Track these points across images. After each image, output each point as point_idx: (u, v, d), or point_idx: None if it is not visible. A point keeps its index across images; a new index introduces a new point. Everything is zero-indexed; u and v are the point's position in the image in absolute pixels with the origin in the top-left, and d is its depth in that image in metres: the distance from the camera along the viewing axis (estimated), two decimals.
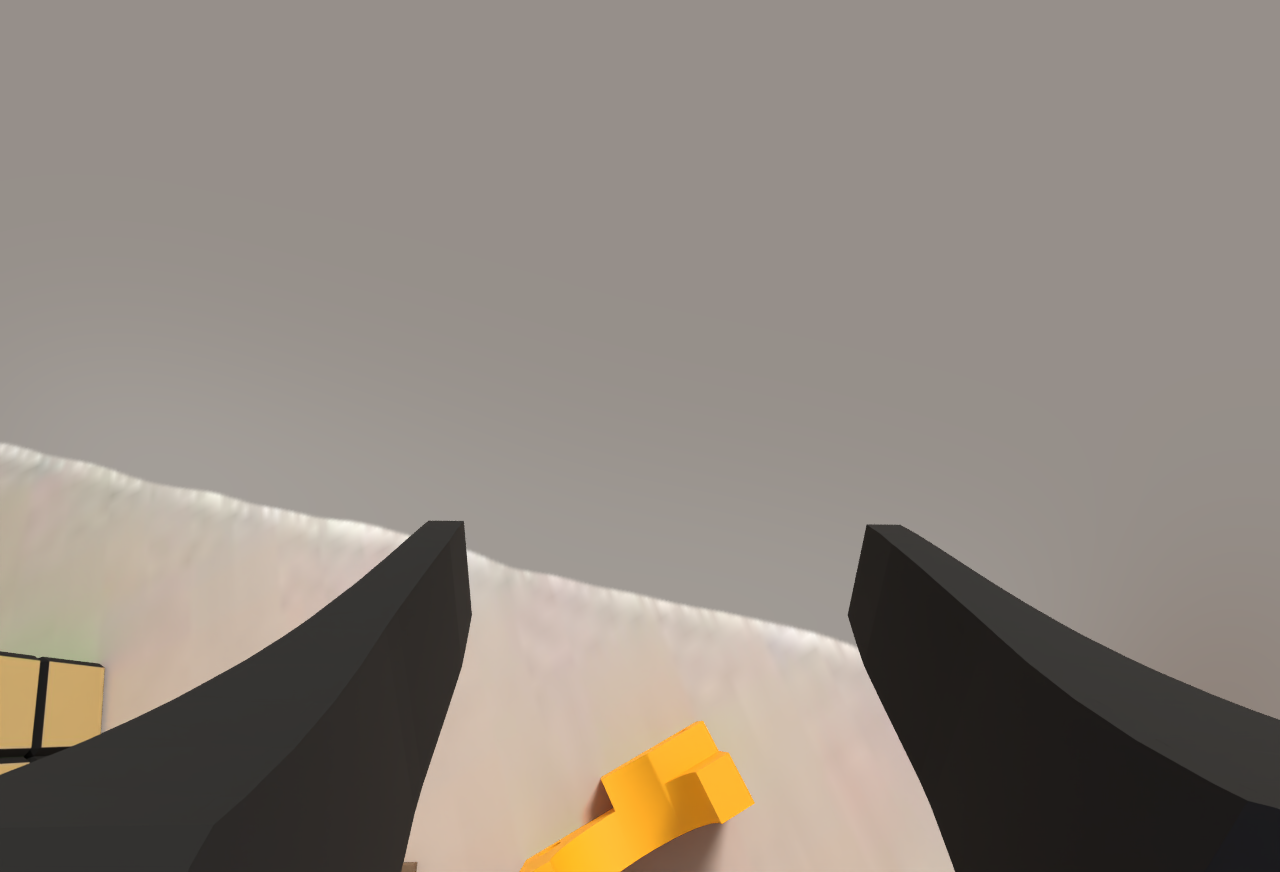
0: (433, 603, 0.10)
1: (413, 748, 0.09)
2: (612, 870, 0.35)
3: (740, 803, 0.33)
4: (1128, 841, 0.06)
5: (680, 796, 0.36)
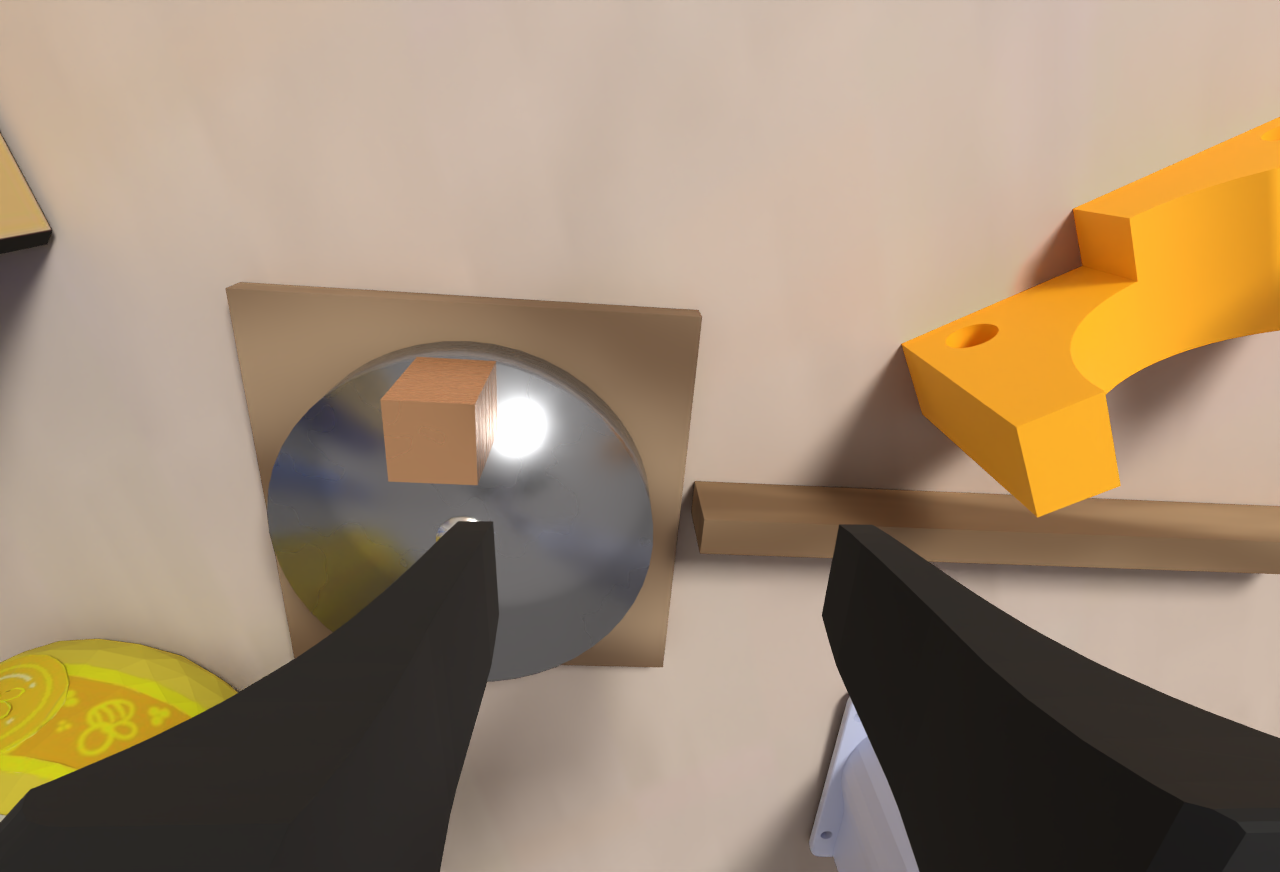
0: (468, 603, 0.10)
1: (450, 748, 0.09)
2: (1108, 382, 0.18)
3: None
4: (1076, 842, 0.06)
5: None
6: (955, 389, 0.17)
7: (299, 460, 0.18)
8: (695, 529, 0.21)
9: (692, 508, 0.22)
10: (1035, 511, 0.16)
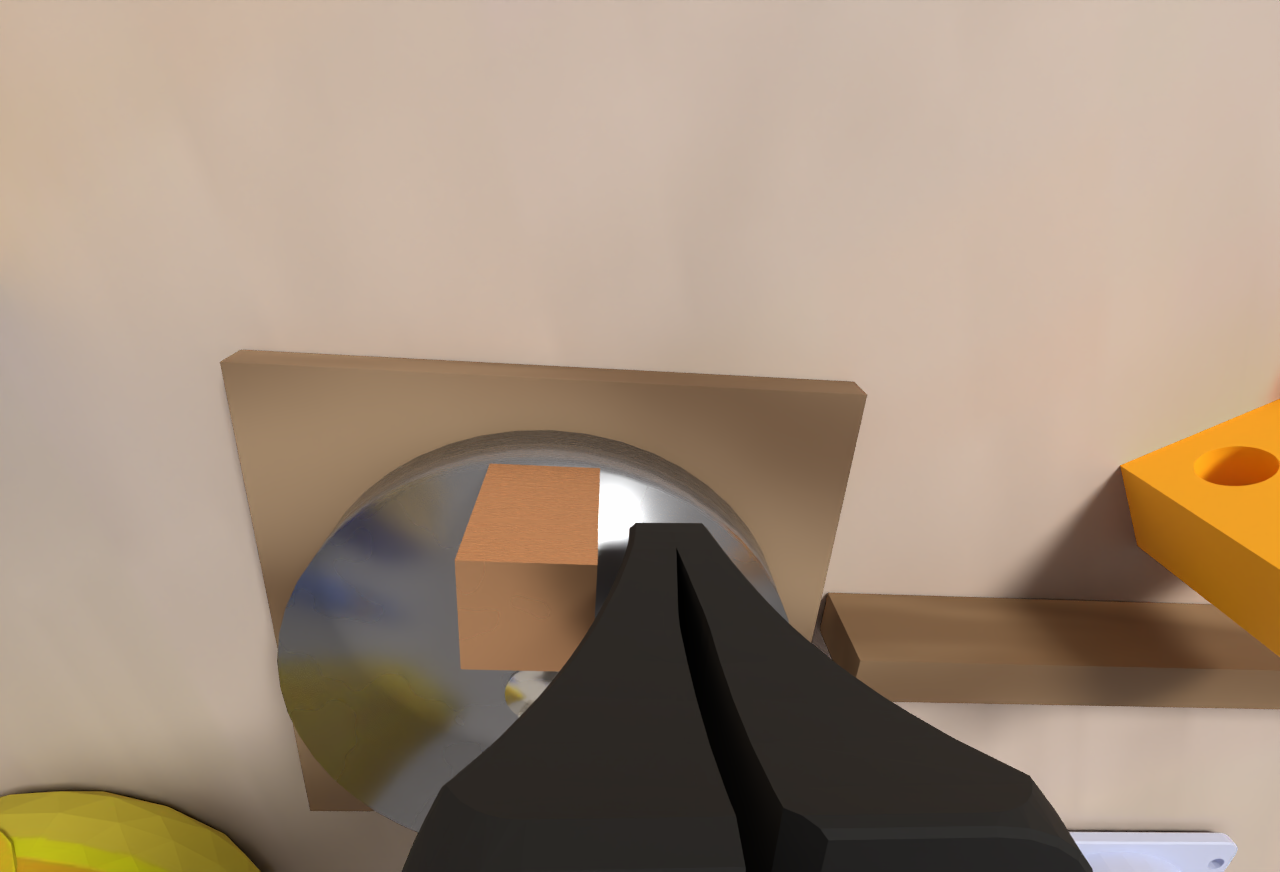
0: None
1: None
2: None
3: None
4: (747, 848, 0.06)
5: None
6: (1246, 556, 0.13)
7: (323, 597, 0.13)
8: (833, 659, 0.16)
9: (823, 626, 0.17)
10: None
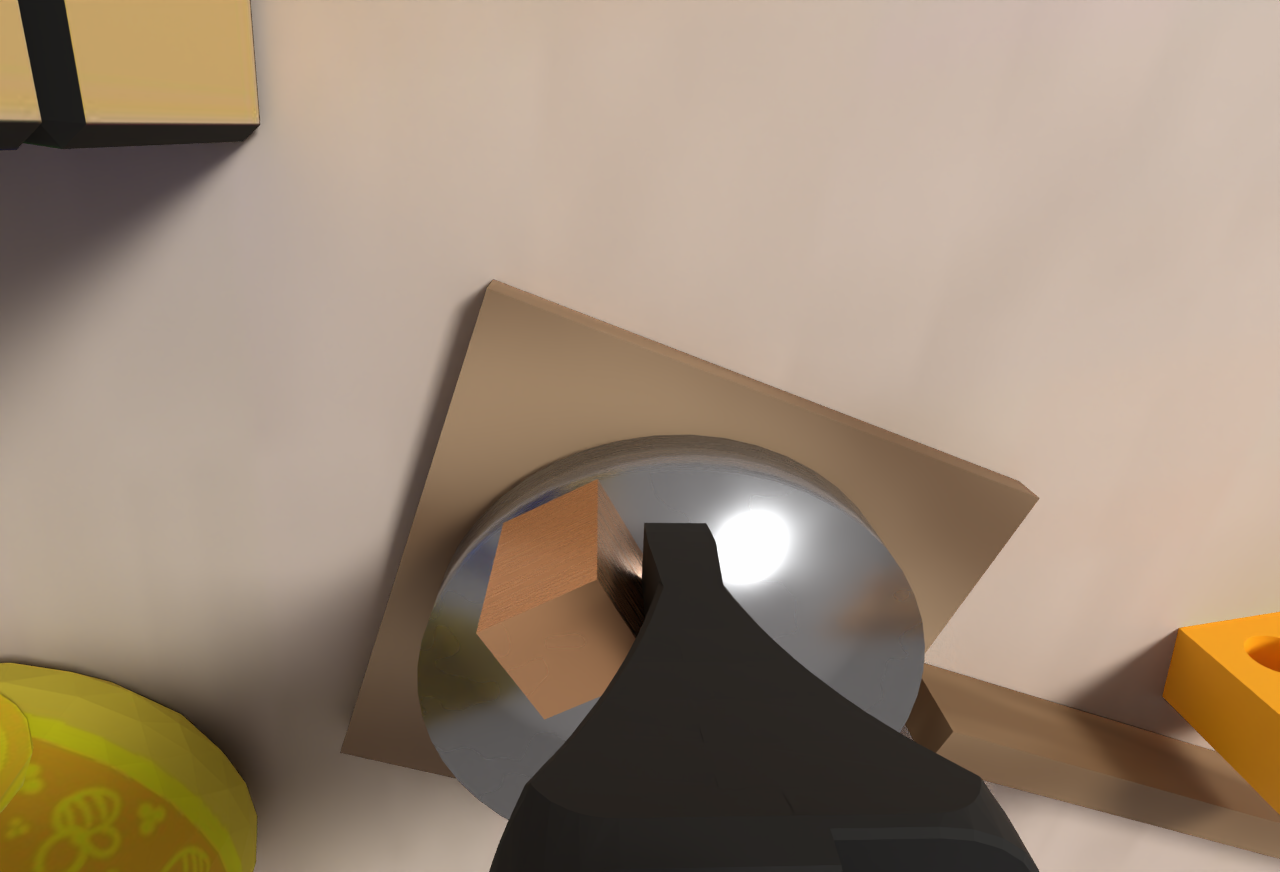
0: None
1: None
2: None
3: None
4: None
5: None
6: None
7: (445, 696, 0.14)
8: (906, 722, 0.17)
9: None
10: None
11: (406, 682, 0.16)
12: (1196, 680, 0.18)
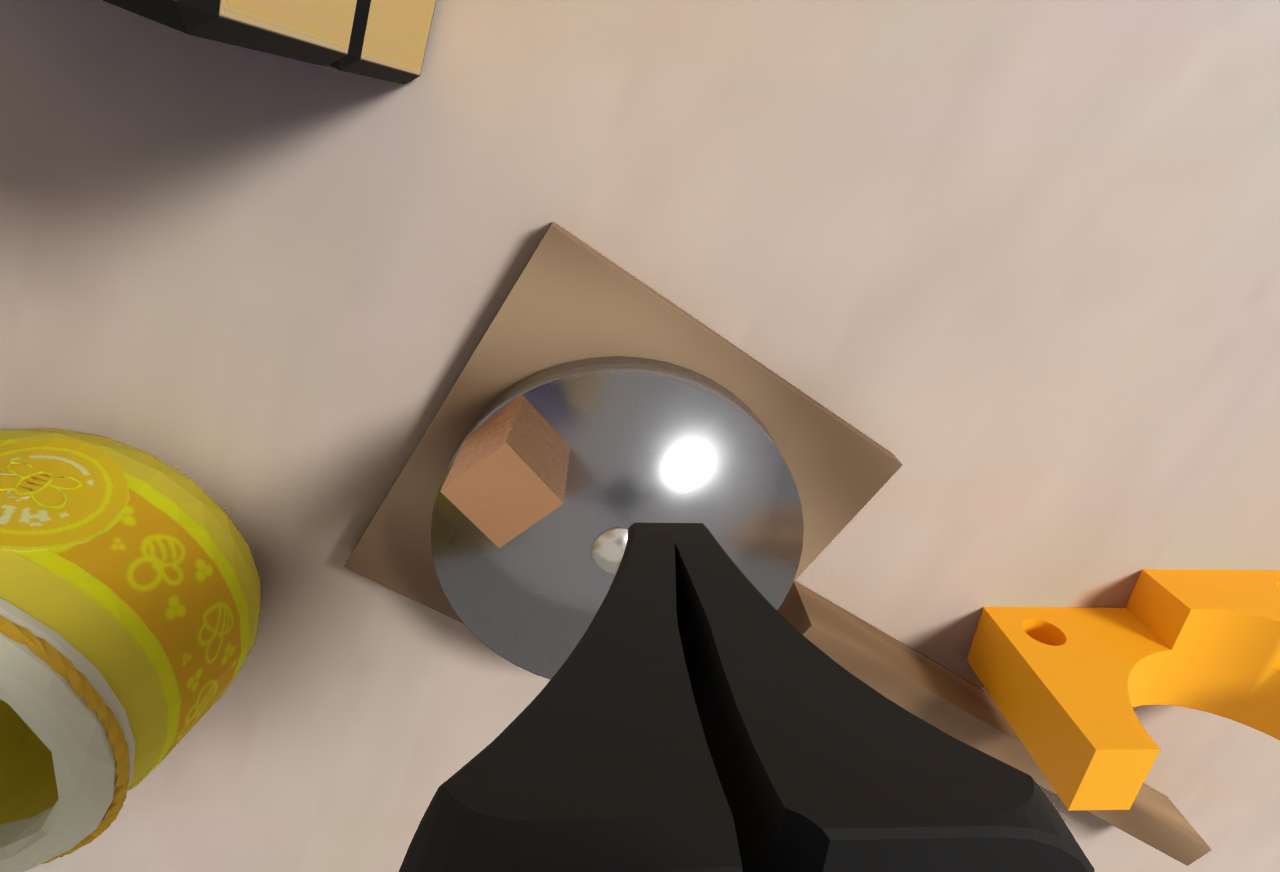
0: None
1: None
2: None
3: None
4: (748, 848, 0.06)
5: None
6: (1034, 680, 0.22)
7: (456, 574, 0.20)
8: None
9: None
10: (1069, 805, 0.20)
11: (412, 516, 0.21)
12: (987, 645, 0.24)
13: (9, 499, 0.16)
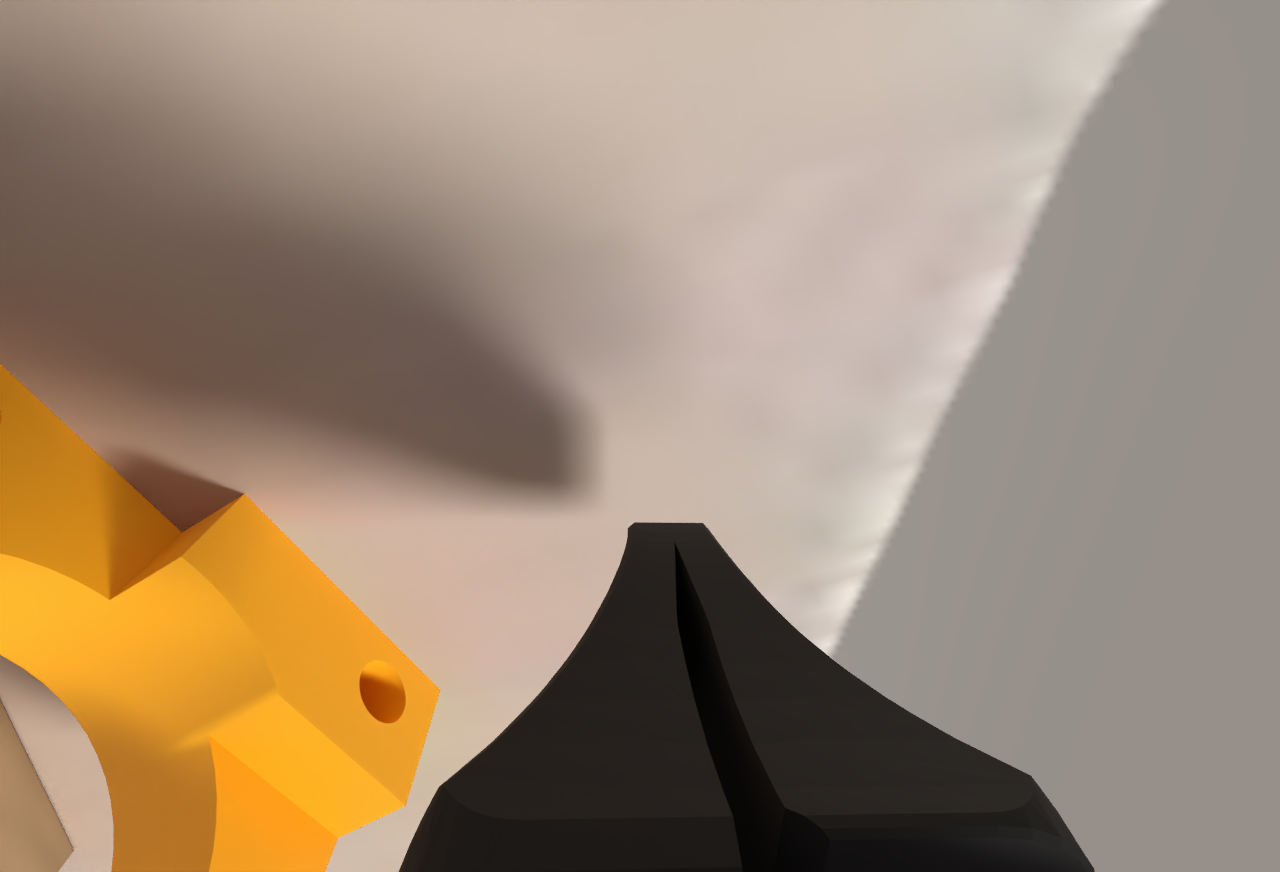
0: None
1: None
2: None
3: None
4: (748, 848, 0.06)
5: (179, 792, 0.12)
6: None
7: None
8: None
9: None
10: None
11: None
12: None
13: None
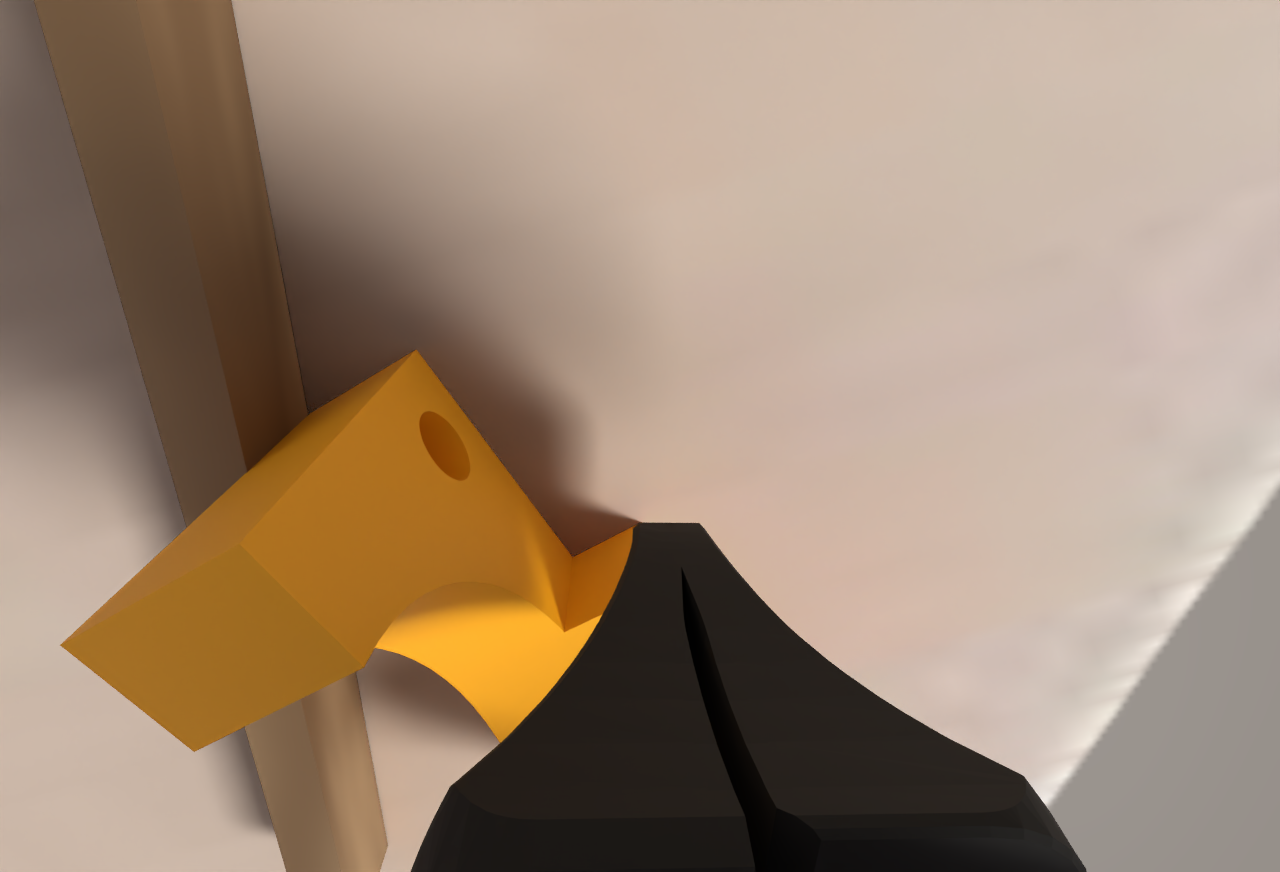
0: None
1: None
2: (414, 649, 0.12)
3: None
4: None
5: None
6: (332, 433, 0.09)
7: None
8: None
9: None
10: (72, 637, 0.07)
11: None
12: (352, 395, 0.12)
13: None
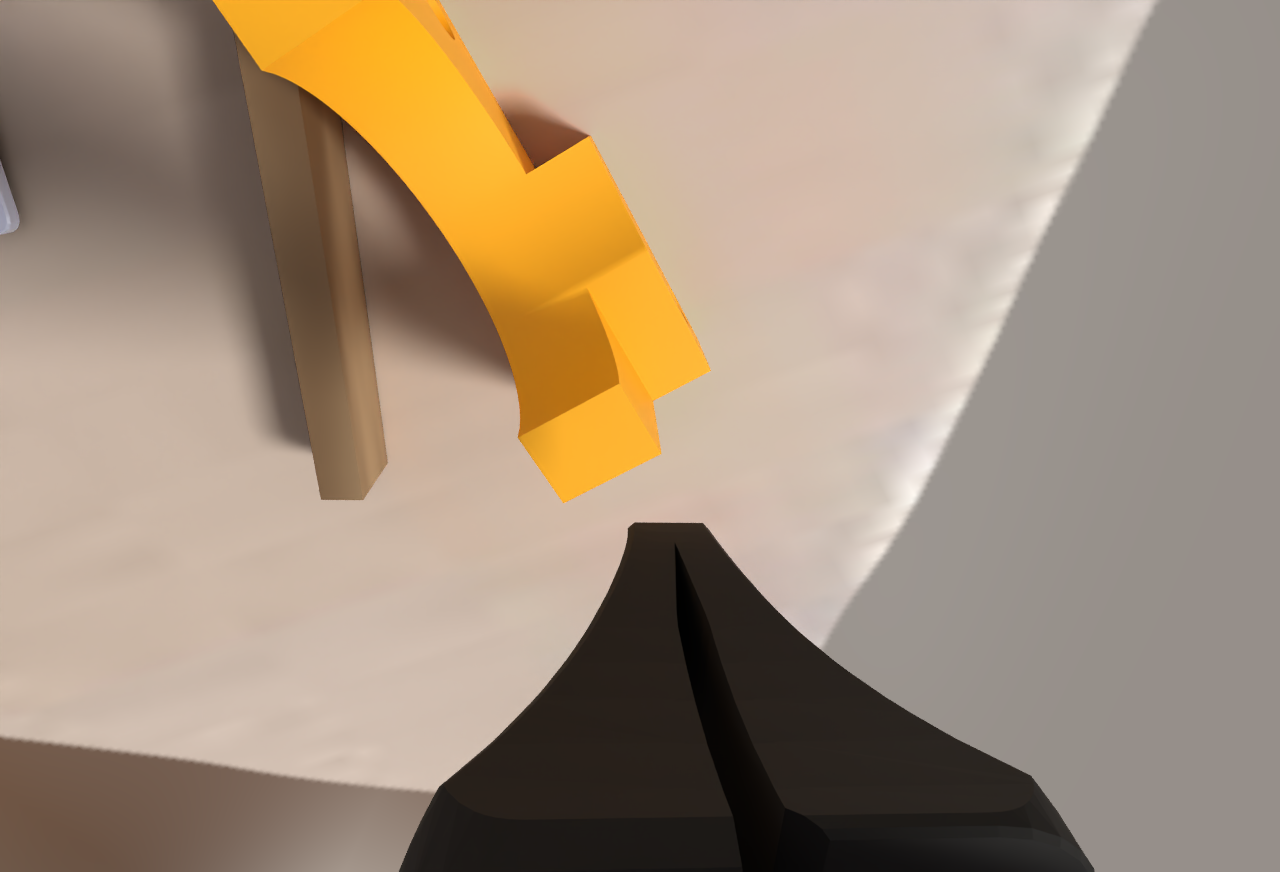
0: None
1: None
2: (410, 172, 0.16)
3: (561, 475, 0.15)
4: (748, 848, 0.06)
5: (565, 326, 0.16)
6: None
7: None
8: None
9: None
10: None
11: None
12: None
13: None
